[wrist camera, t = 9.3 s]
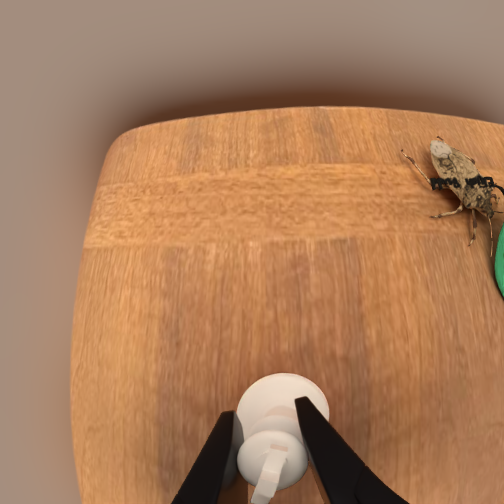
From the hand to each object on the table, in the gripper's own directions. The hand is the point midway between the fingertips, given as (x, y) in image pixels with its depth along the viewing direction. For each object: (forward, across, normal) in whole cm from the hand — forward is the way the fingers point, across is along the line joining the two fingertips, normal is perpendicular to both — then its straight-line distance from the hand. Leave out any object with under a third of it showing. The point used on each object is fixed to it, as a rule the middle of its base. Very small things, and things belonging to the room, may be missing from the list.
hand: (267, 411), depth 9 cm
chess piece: (+4, 0, +6) cm, 7 cm away
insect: (+12, -17, -1) cm, 21 cm away
